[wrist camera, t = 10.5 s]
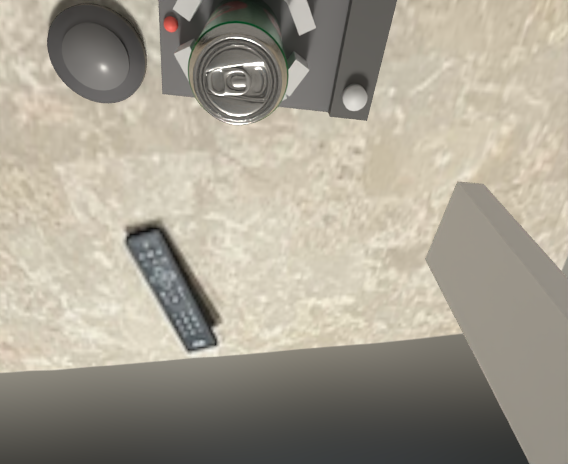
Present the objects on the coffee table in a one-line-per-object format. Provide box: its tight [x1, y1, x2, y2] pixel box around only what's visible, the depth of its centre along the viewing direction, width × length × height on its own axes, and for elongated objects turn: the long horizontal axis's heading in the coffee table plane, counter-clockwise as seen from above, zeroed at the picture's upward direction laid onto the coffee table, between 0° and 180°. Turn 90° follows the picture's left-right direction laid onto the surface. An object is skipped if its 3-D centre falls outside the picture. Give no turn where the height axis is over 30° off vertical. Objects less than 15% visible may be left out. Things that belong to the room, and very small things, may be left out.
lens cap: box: [47, 4, 147, 103], centre depth 34 cm, size 8×8×1 cm
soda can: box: [188, 0, 289, 125], centre depth 25 cm, size 5×5×12 cm
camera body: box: [159, 0, 397, 121], centre depth 31 cm, size 16×10×8 cm, turn 83°
